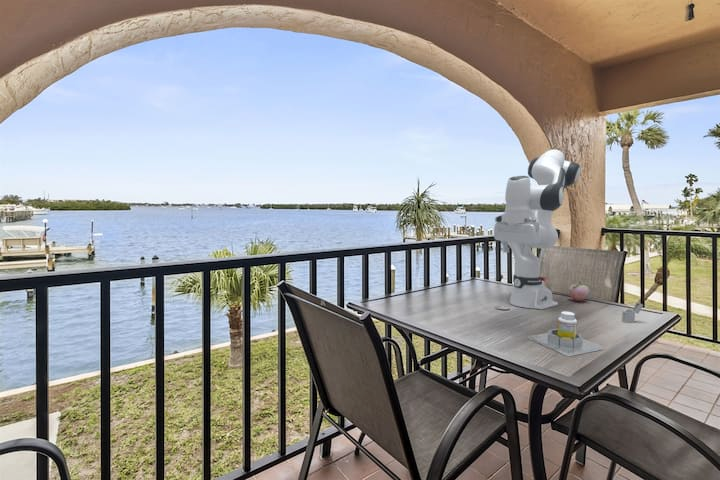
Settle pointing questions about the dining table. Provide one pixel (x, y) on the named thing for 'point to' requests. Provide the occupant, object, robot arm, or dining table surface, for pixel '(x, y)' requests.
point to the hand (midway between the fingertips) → (515, 254)
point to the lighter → (631, 314)
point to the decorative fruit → (578, 291)
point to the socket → (565, 343)
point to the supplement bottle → (567, 325)
